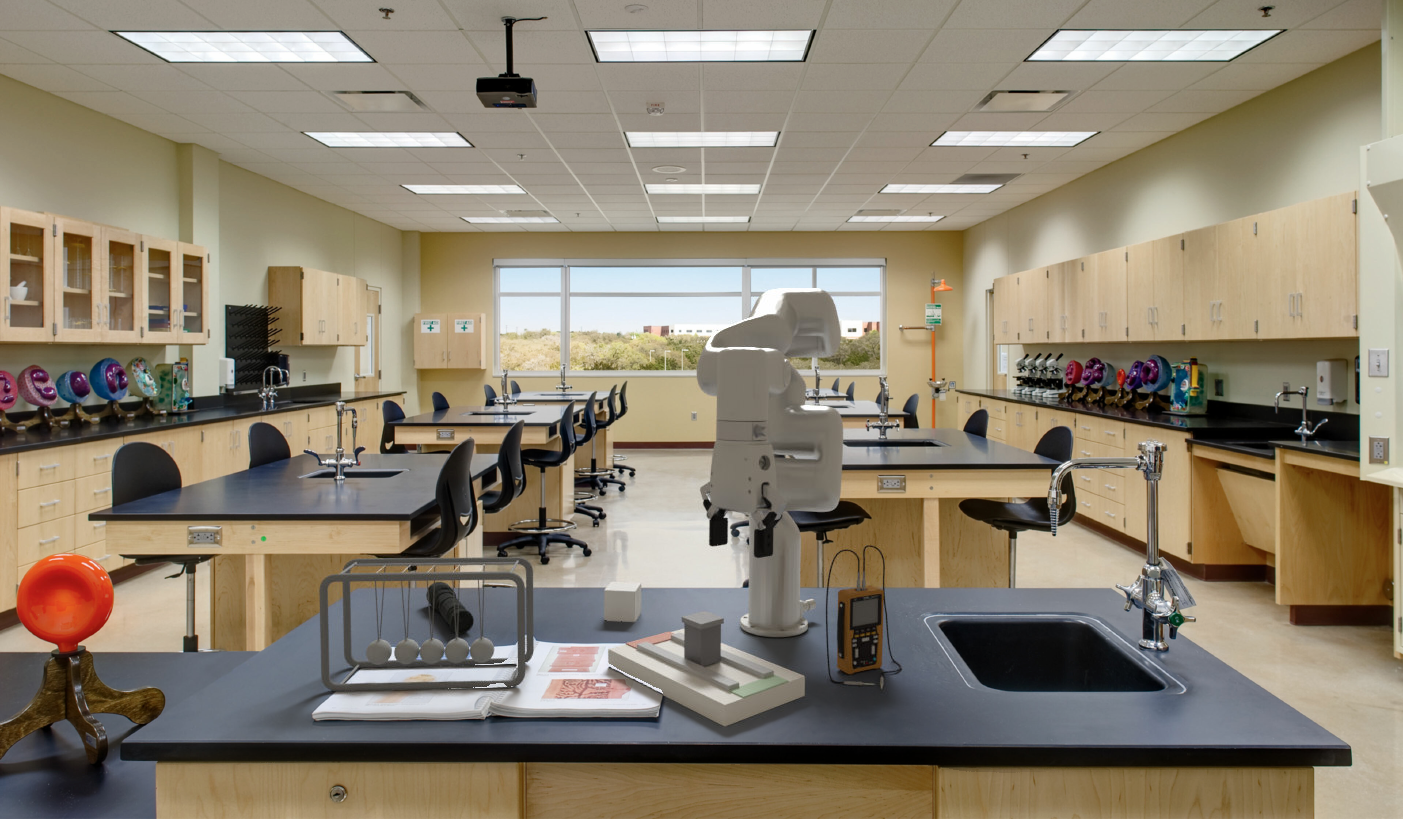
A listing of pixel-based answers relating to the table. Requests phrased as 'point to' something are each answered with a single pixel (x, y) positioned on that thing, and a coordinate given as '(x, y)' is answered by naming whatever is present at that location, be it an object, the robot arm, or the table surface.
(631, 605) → the white cube
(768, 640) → the table surface
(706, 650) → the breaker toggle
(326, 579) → the newton's cradle
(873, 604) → the multimeter
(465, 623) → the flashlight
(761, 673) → the slider rail board
